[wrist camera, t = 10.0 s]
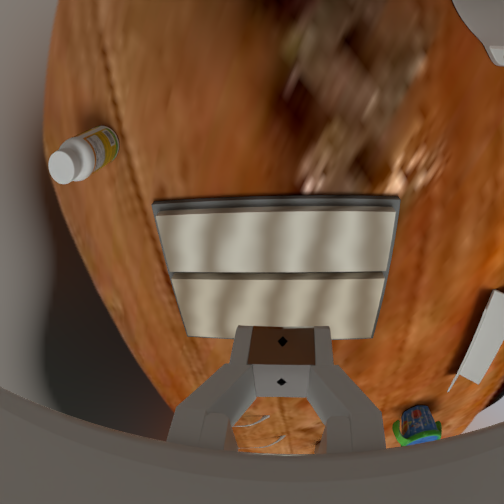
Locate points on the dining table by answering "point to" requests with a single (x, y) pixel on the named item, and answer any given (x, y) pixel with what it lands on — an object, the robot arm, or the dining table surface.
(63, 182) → the supplement bottle
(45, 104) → the dining table surface
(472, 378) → the z bracket
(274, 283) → the loose plank
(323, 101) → the dining table surface
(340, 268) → the floor panel
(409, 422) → the snack cup
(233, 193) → the dining table surface
